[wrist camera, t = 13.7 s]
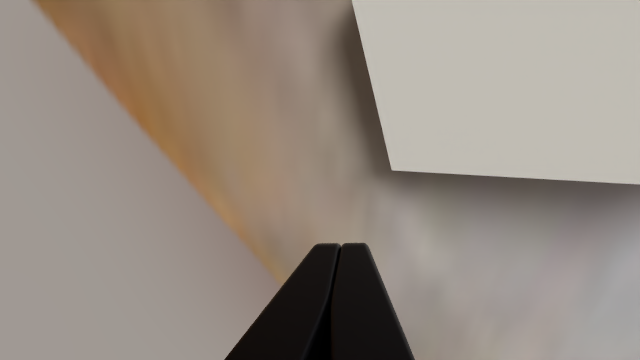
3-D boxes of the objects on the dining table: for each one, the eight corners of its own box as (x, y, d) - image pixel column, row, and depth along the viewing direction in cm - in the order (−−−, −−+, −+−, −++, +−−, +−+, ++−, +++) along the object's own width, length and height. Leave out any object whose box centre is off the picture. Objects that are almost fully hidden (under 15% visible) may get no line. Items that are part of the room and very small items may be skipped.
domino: (392, 170, 14) (906, 199, 10) (349, -9, 12) (1047, -100, 7) (411, 134, 16) (878, 143, 11) (378, -36, 13) (987, -131, 8)
